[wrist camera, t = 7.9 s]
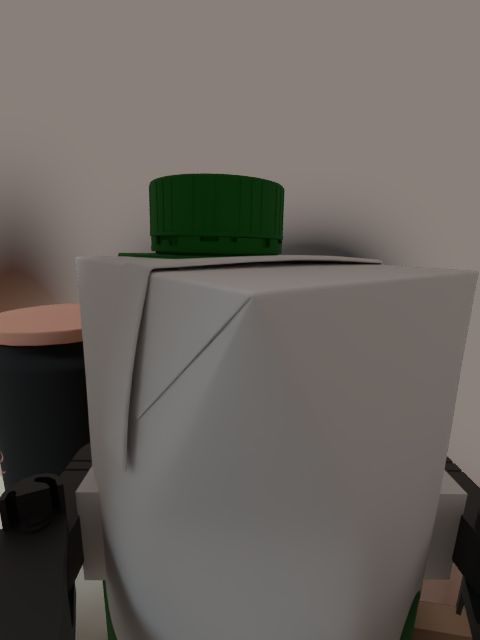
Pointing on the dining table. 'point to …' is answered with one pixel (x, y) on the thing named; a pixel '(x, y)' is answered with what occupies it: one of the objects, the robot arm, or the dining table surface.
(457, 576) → the dining table surface
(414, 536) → the fresh milk carton
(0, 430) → the coffee jar
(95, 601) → the dining table surface
